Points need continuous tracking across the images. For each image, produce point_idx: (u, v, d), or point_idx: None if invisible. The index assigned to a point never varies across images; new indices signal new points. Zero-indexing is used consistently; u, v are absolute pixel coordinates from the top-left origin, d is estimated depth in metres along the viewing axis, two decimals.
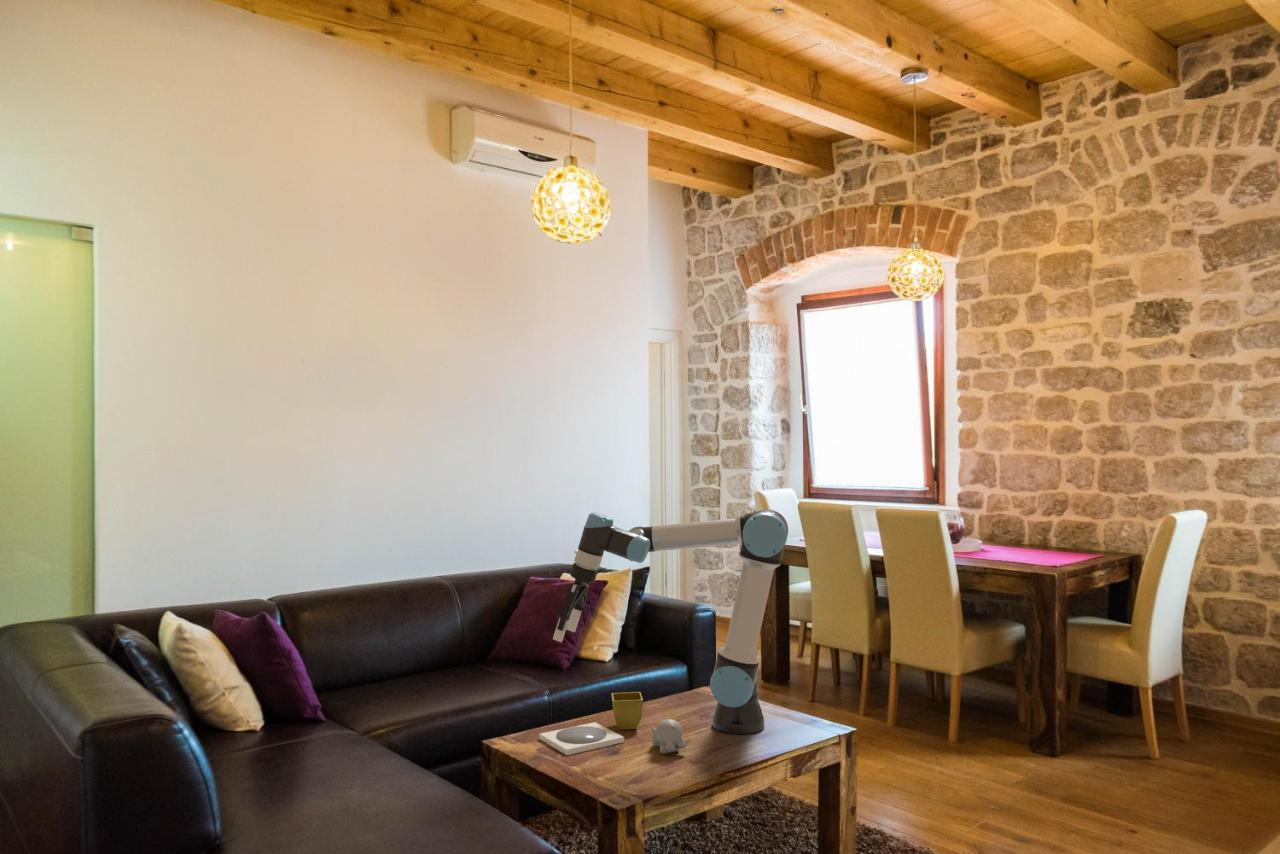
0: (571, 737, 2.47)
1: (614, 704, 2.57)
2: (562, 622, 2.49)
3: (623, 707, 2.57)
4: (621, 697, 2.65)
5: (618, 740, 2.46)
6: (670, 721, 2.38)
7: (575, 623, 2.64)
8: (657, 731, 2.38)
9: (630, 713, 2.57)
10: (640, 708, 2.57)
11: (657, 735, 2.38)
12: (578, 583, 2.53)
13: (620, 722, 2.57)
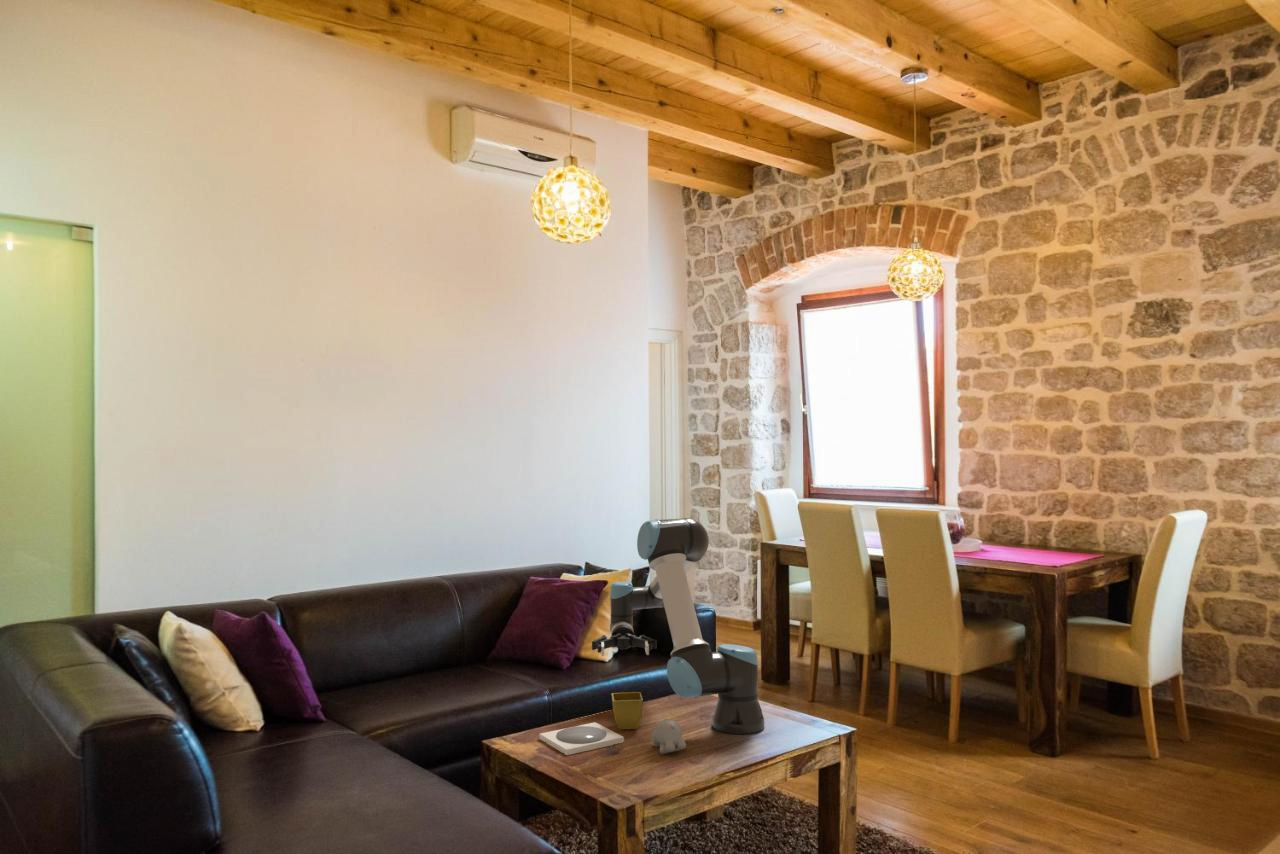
0: (571, 737, 2.47)
1: (614, 704, 2.57)
2: (597, 646, 2.76)
3: (623, 707, 2.57)
4: (621, 697, 2.65)
5: (618, 740, 2.46)
6: (670, 721, 2.38)
7: (645, 645, 2.74)
8: (657, 731, 2.38)
9: (630, 713, 2.57)
10: (640, 708, 2.57)
11: (657, 735, 2.38)
12: None
13: (620, 722, 2.57)
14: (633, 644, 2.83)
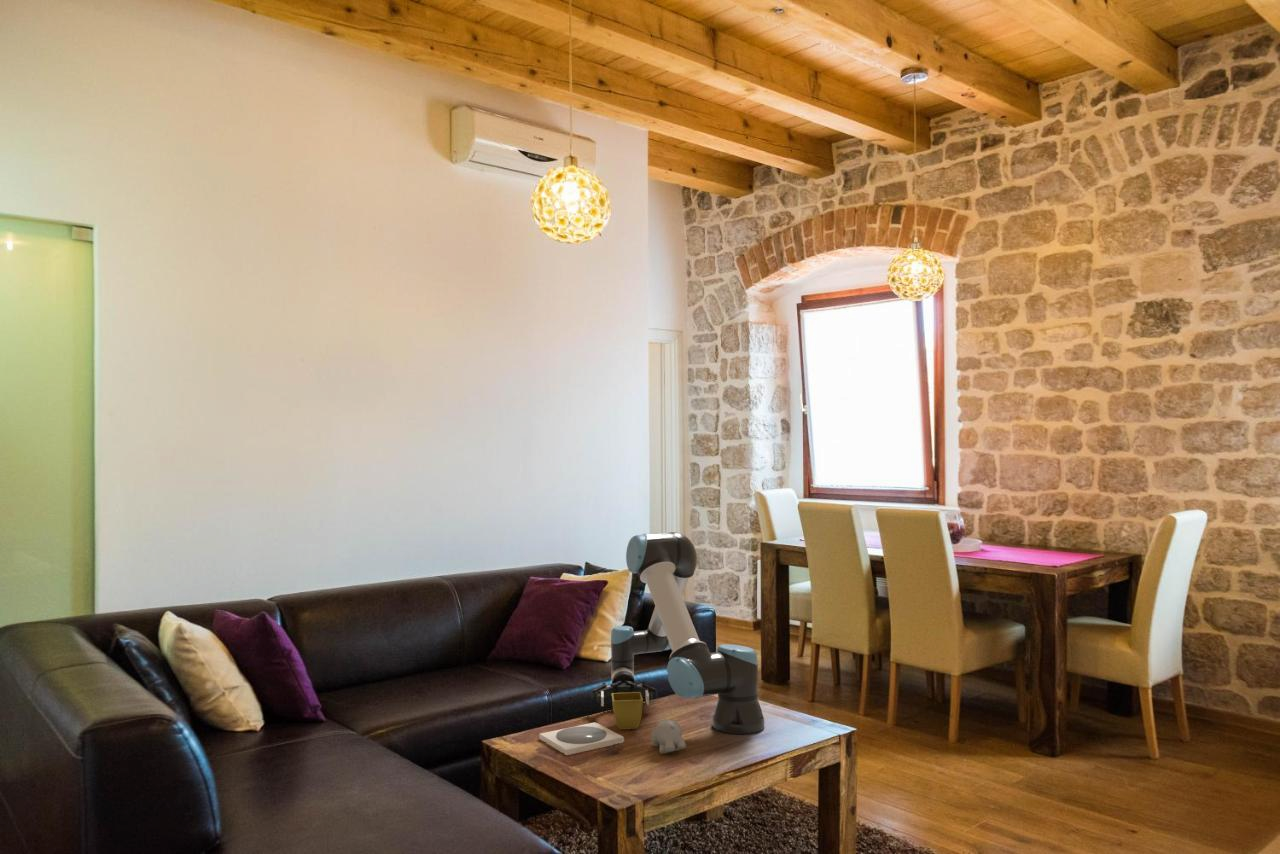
0: (571, 737, 2.47)
1: (614, 704, 2.57)
2: (597, 695, 2.72)
3: (623, 707, 2.57)
4: (621, 697, 2.65)
5: (618, 740, 2.46)
6: (670, 721, 2.39)
7: (646, 695, 2.70)
8: (657, 731, 2.38)
9: (630, 713, 2.57)
10: (640, 708, 2.57)
11: (657, 735, 2.38)
12: None
13: (620, 722, 2.57)
14: None
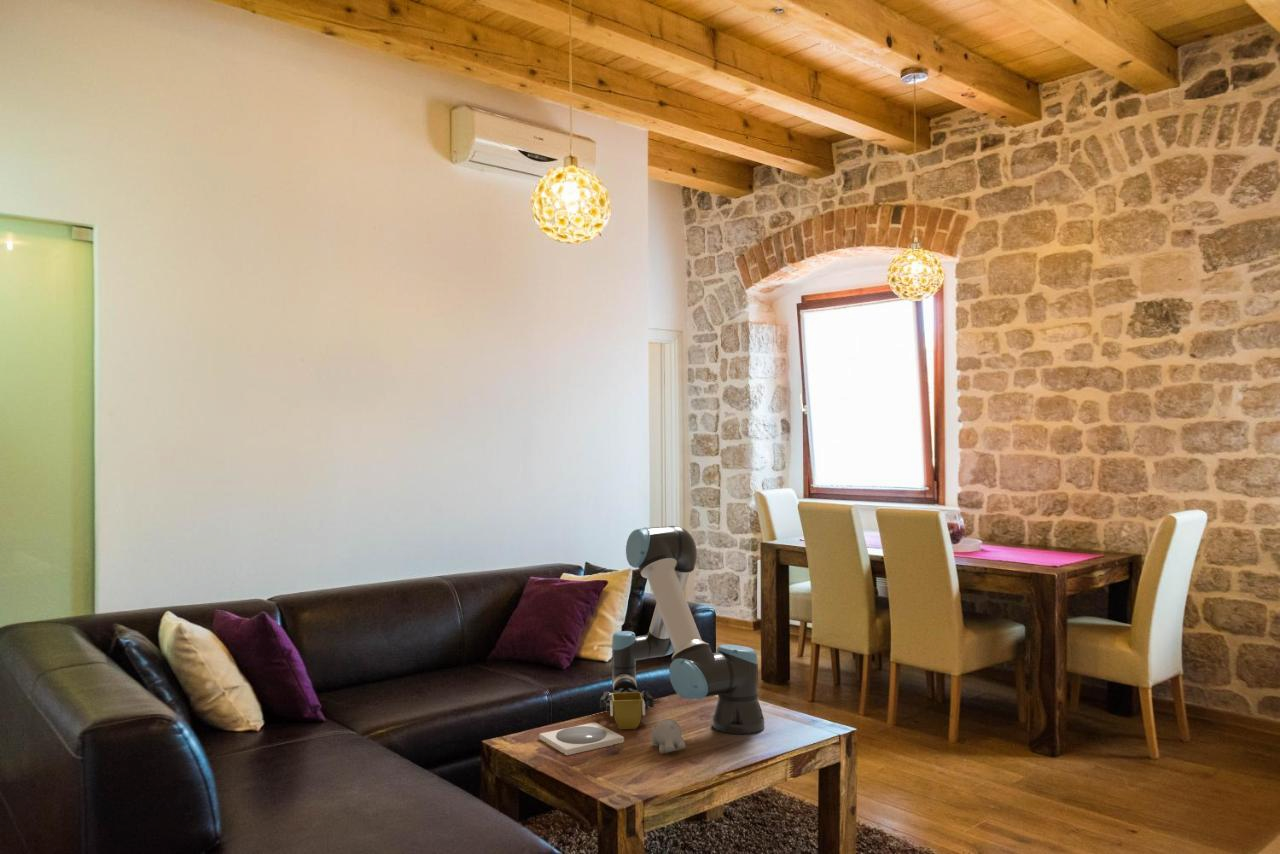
0: (571, 737, 2.47)
1: (614, 704, 2.57)
2: (606, 704, 2.62)
3: (623, 707, 2.57)
4: (621, 697, 2.65)
5: (618, 740, 2.46)
6: (669, 721, 2.39)
7: None
8: (656, 731, 2.38)
9: (630, 713, 2.57)
10: (640, 708, 2.57)
11: (656, 735, 2.38)
12: None
13: (620, 722, 2.57)
14: None
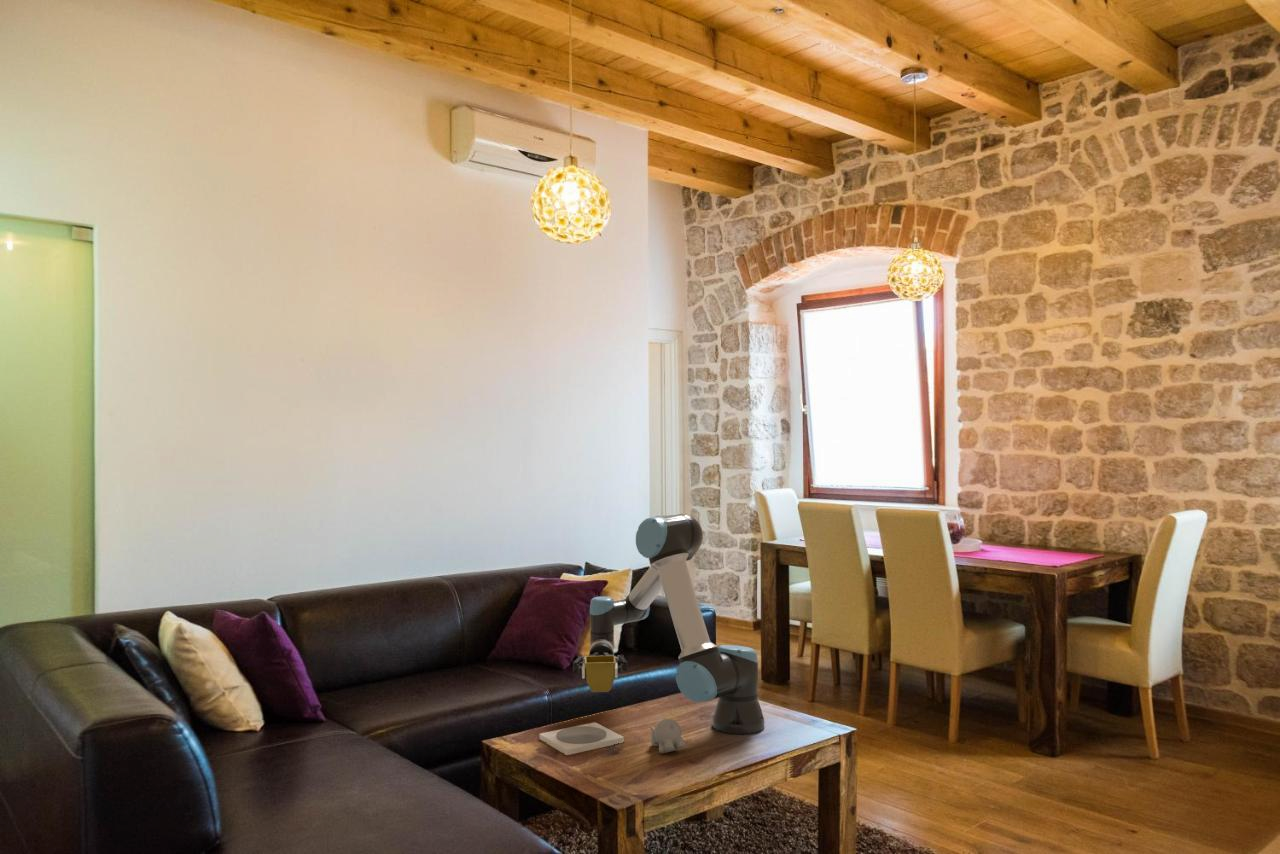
0: (571, 737, 2.47)
1: (586, 666, 2.52)
2: (578, 667, 2.57)
3: (595, 669, 2.52)
4: (595, 660, 2.60)
5: (618, 740, 2.46)
6: (669, 721, 2.39)
7: None
8: (656, 731, 2.38)
9: (602, 675, 2.52)
10: (613, 671, 2.52)
11: (656, 735, 2.38)
12: None
13: (592, 685, 2.53)
14: None
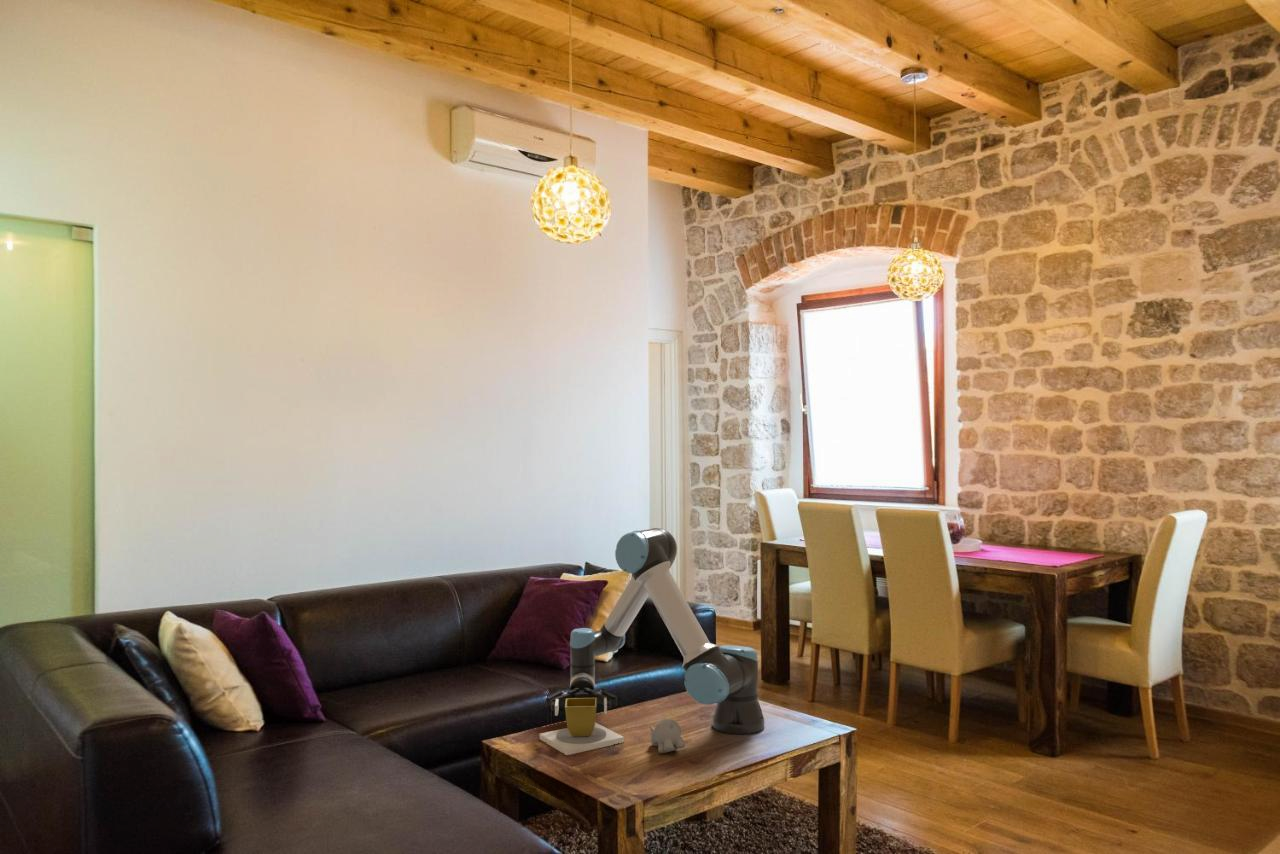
0: (571, 737, 2.47)
1: (566, 710, 2.45)
2: None
3: (575, 713, 2.45)
4: (576, 703, 2.53)
5: (618, 740, 2.46)
6: (669, 720, 2.39)
7: (604, 703, 2.49)
8: (656, 730, 2.38)
9: (583, 720, 2.45)
10: (593, 715, 2.45)
11: (655, 734, 2.38)
12: None
13: (572, 729, 2.46)
14: None
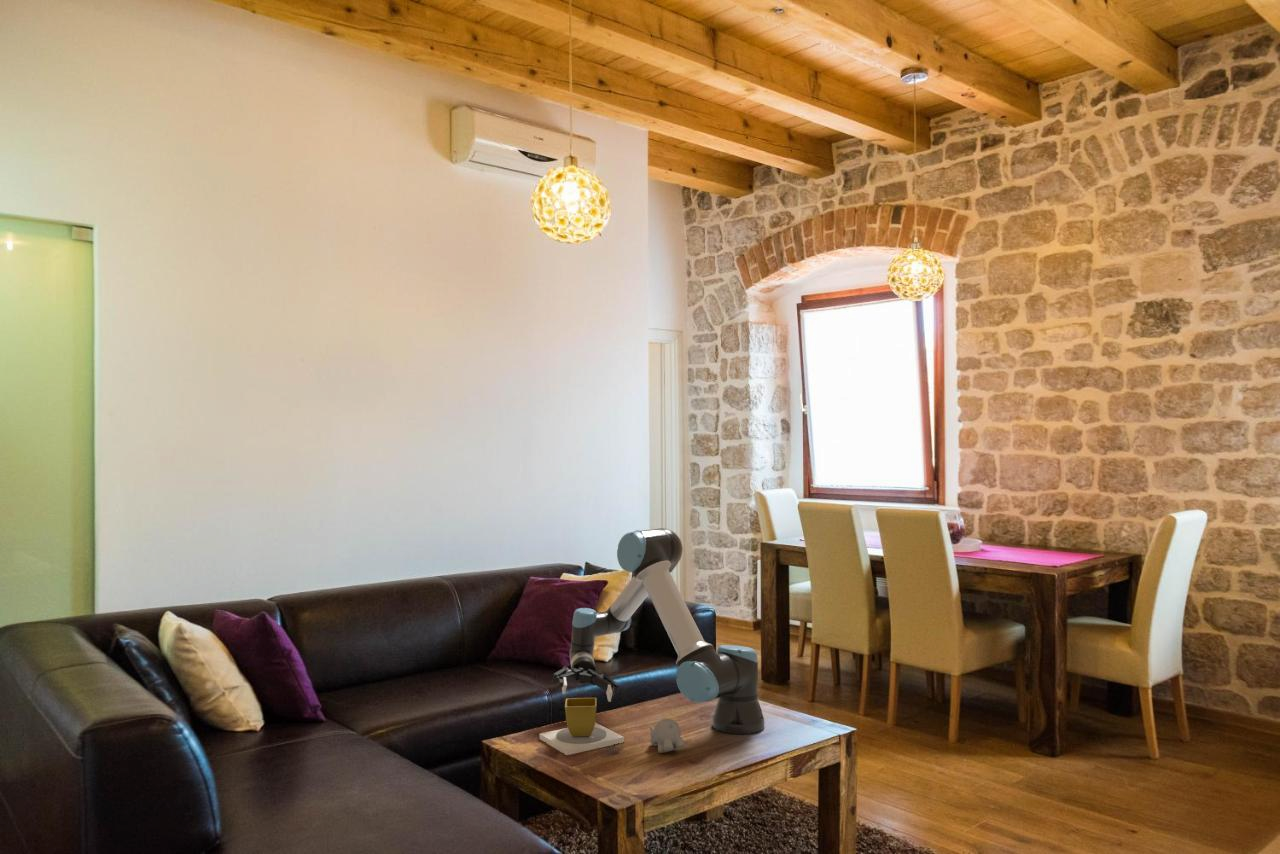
0: (571, 737, 2.47)
1: (566, 710, 2.45)
2: (559, 680, 2.64)
3: (575, 713, 2.45)
4: (576, 703, 2.53)
5: (618, 740, 2.46)
6: (668, 720, 2.39)
7: (608, 690, 2.63)
8: (655, 730, 2.38)
9: (583, 720, 2.45)
10: (593, 715, 2.45)
11: (655, 734, 2.38)
12: None
13: (572, 729, 2.46)
14: (594, 683, 2.72)
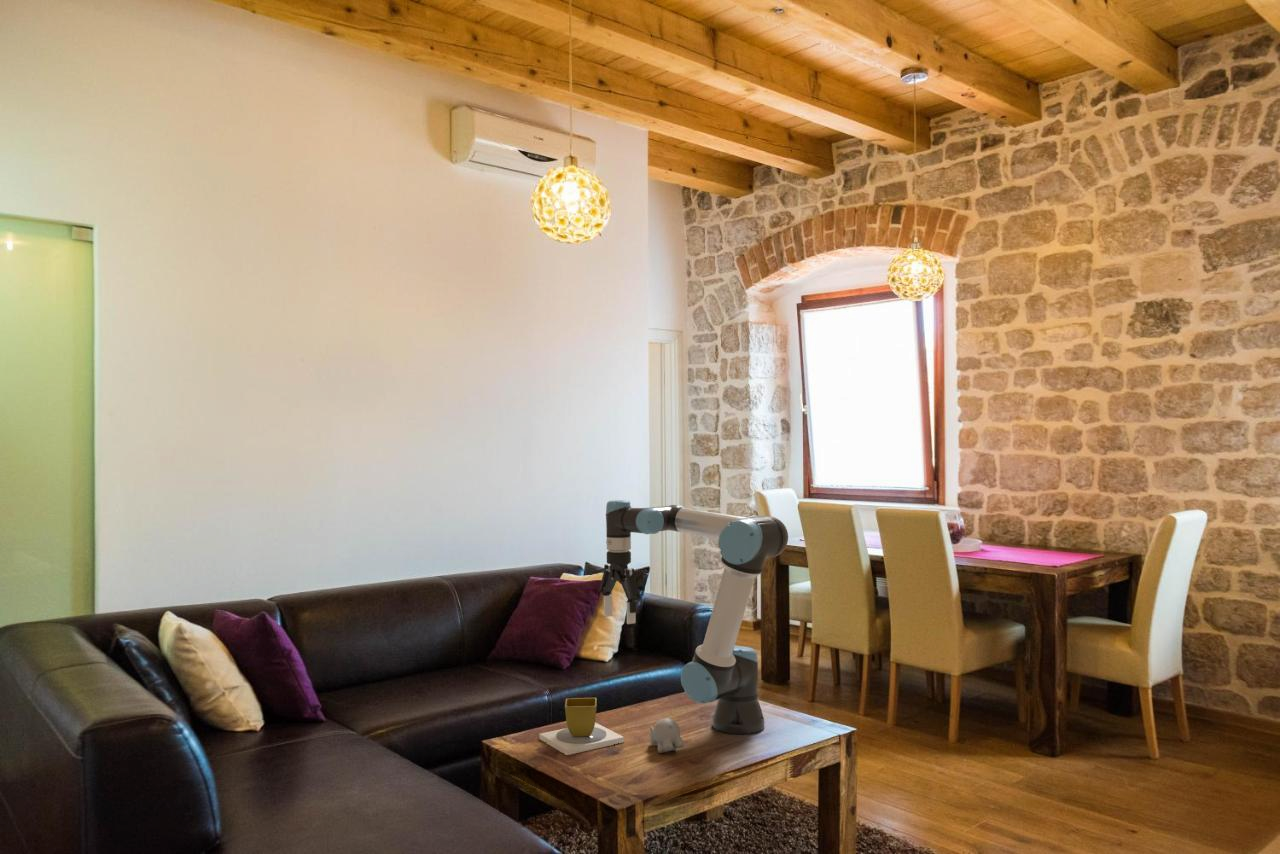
0: (571, 737, 2.47)
1: (566, 710, 2.45)
2: (634, 604, 2.67)
3: (575, 713, 2.45)
4: (576, 703, 2.53)
5: (618, 740, 2.46)
6: (668, 720, 2.39)
7: (610, 607, 2.80)
8: (655, 730, 2.39)
9: (583, 720, 2.45)
10: (593, 715, 2.45)
11: (655, 734, 2.38)
12: (625, 567, 2.72)
13: (572, 729, 2.46)
14: (611, 580, 2.77)
